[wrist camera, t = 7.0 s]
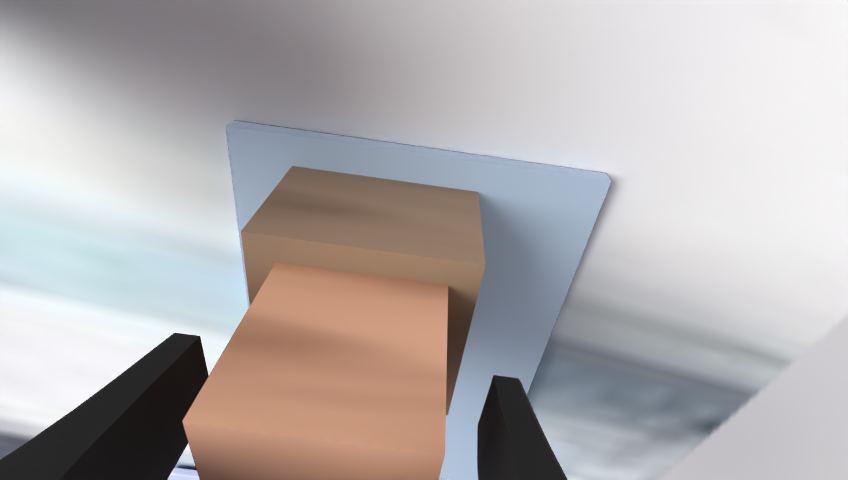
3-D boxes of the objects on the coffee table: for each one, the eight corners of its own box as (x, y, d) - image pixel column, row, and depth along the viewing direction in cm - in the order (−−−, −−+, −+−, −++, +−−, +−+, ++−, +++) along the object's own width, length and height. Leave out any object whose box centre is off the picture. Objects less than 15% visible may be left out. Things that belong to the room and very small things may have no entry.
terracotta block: (426, 395, 13) (415, 566, 10) (284, 378, 13) (218, 542, 10) (448, 285, 11) (444, 454, 7) (275, 262, 11) (182, 421, 7)
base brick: (449, 326, 17) (447, 415, 14) (298, 306, 17) (260, 391, 14) (478, 192, 14) (485, 264, 11) (292, 165, 14) (240, 231, 11)
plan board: (490, 474, 24) (490, 485, 23) (271, 446, 24) (267, 456, 23) (605, 172, 14) (611, 181, 14) (234, 120, 14) (225, 126, 13)
